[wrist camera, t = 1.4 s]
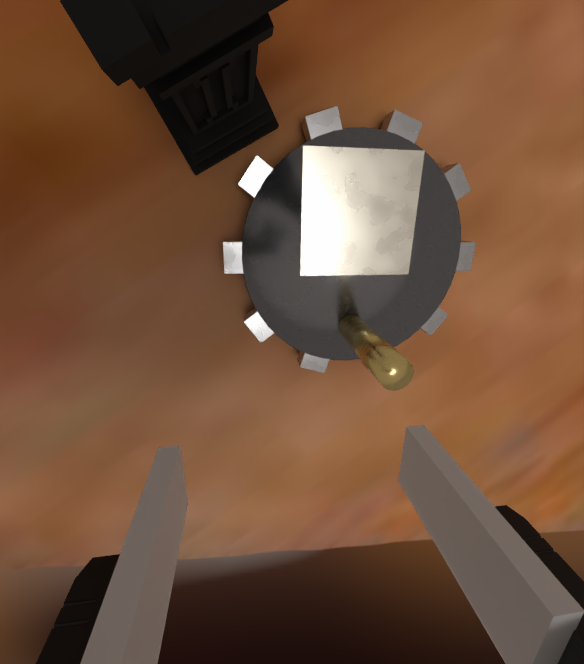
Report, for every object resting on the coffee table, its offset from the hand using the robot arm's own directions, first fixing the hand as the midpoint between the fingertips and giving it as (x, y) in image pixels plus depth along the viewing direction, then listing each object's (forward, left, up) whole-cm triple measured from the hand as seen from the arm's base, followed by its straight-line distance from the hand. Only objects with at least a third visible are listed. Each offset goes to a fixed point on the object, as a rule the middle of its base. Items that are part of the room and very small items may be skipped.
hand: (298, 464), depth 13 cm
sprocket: (+8, +6, -20) cm, 22 cm away
